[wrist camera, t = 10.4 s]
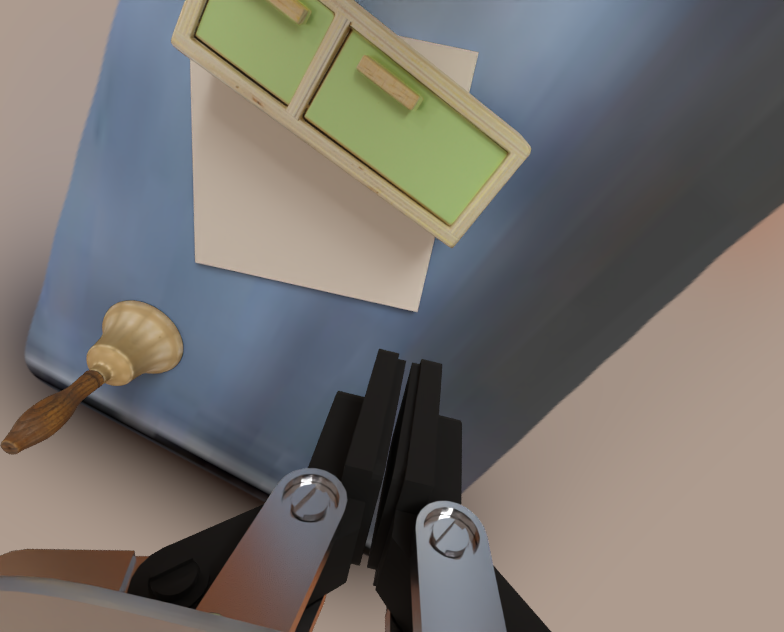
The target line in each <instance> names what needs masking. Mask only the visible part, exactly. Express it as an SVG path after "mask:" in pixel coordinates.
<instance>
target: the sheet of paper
mask: <svg viewBox="0 0 784 632" xmlns="http://www.w3.org/2000/svg"><path fill="white" fill-rule="evenodd" d="M399 37H400V38H401V39H403V40H404V41H405V42H406V43H408V44H409V45H410V46H411V47H413V48H414V49H415V50H416V51H418V52H419V53H420V54H421V55H423V56H424V57H425V58H426V59H428V60H429V61H430V62H431V63H433V64H434V65H435V66H436V67H437V68H439V69H440V70H441V71H442V72H444V73H445V74H446V75H447V76H449V77H450V78H451V79H452V80H454V81H455V82H456V83H457V84H459V85H460V86H461V87H462V88H464V89H465V90H466V91H467V92H469V91H470V87H471V83H472V78H473V74H474V70H475V66H476V62H477V57H478V53H479V52H475V51H470V50H465V49H460V48H455V47H451V46H446V45H441V44H436V43H431V42H426V41H421V40H417V39H412V38H407V37H402V36H399ZM190 73H191V112H192V152H193V192H194V231H195V262H196V263H201V264H205V265H210V266H214V267H219V268H223V269H227V270H232V271H236V272H241V273H245V274H250V275H254V276H259V277H263V278H268V279H272V280H277V281H281V282H285V283H290V284H294V285H299V286H303V287H308V288H312V289H317V290H321V291H326V292H330V293H335V294H339V295H343V296H348V297H352V298H357V299H361V300H366V301H370V302H375V303H379V304H384V305H388V306H393V307H397V308H401V309H406V310H410V311H415V312H417V311H418V307H419V302H420V298H421V294H422V290H423V286H424V281H425V277H426V273H427V269H428V264H429V260H430V256H431V252H432V248H433V243H434V239H435V237H434V236H433V235H432V234H430V233H429V232H428V231H426V230H425V229H423V228H422V227H421V226H419V225H418V224H417V223H415V222H414V221H412V220H411V219H410V218H408V217H407V216H405V215H404V214H403V213H401V212H400V211H399V210H397V209H396V208H394V207H393V206H392V205H390V204H389V203H387V202H386V201H385V200H383V199H382V198H380V197H379V196H378V195H376V194H375V193H374V192H372V191H371V190H370V189H368V188H367V187H365V186H364V185H363V184H361V183H360V182H358V181H357V180H356V179H354V178H353V177H352V176H350V175H349V174H347V173H346V172H345V171H343V170H342V169H341V168H339V167H338V166H336V165H335V164H334V163H332V162H331V161H330V160H328V159H327V158H325V157H324V156H323V155H321V154H320V153H319V152H317V151H316V150H315V149H313V148H312V147H311V146H309V145H308V144H306V143H305V142H304V141H302V140H301V139H299V138H298V137H297V136H295V135H294V134H293V133H291V132H290V131H289V130H287V129H286V128H285V127H283V126H282V125H281V124H279V123H278V122H276V121H275V120H273V119H272V118H271V117H269V116H268V115H267V114H265V113H264V112H262V111H261V110H260V109H258V108H257V107H255V106H254V105H253V104H251V103H250V102H249V101H247V100H246V99H244V98H243V97H242V96H240V95H239V94H238V93H236V92H235V91H233V90H232V89H231V88H229V87H228V86H227V85H225V84H224V83H222V82H221V81H220V80H218V79H217V78H215V77H214V76H213V75H211V74H210V73H209V72H207V71H206V70H205V69H203V68H202V67H200V66H199V65H198V64H196V63H195V62H194V61H192V60H191V59H190Z"/></svg>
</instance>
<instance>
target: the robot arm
mask: <svg viewBox="0 0 784 632" xmlns="http://www.w3.org/2000/svg"><path fill="white" fill-rule="evenodd" d="M398 357H399V353H395V352H391V351H386V350H382V349H379V351H378V354H377V357H376V361H375V364H374V367H373V371H372V374H371V378H370V381H369V384H368V388H367V391H366V395H365V397H362V396H358V395H353V394H349V393H345V392H341V391H338V392H337V394H336V396H335V398H334V401H333V404H332V406H331V409H330V412H329V414H328V417H327V419H326V422H325V425H324V427H323V430H322V432H321V435H320V438H319V440H318V443H317V446H316V448H315V451H314V453H313V456H312V459H311V461H310V464H309V466H308V468H304V469H300V470H296V471H293V472H291V473H290V474H288V475H286V476H285V477H284V478H283V479H282V480H281V481H280V482H279V483H278V484H277V486H276V487H275V489H274V490H273V492H272V493H271V495H270V496H269V498H268V500H267V501H266V503H265V504H263V505H261V506H259V507H256V508H254V509H252V510H249V511H247V512H245V513H242V514H240V515H238V516H236V517H233V518H231V519H229V520H226V521H224V522H222V523H219V524H217V525H215V526H213V527H210V528H208V529H206V530H203V531H201V532H199V533H196V534H195V535H192V536H189V537H187V538H185V539H183V540H180V541H178V542H176V543H173V544H171V545H169V546H166V547H164V548H162V549H161V550H159V551H157V552H155V553H154V554H152V555H150V556H135V551H130V550H69V549H23V550H15V551H11V552H8V553H5V554H3V555H0V632H312V631H313V628H314V626H315V624H316V621H317V619H318V617H319V614H320V612H321V609H322V607H323V605H324V602H325V599H326V595H327V594H328V593H329V592H331V591H333V590H334V589H336V588H338V587H339V586H341V585H342V584H344V583H346V581H347V576H348V573H349V569H350V565H351V564H355V565H360V562H361V559H362V555H363V551H364V547H365V544H366V540H367V536H368V532H369V529H370V525H371V521H372V518H373V514H374V510H375V506H376V503H377V499H378V495H379V491H380V488H381V484H382V480H383V476H384V471H385V467H386V471H385V476H384V481H383V486H382V492H381V497H380V502H379V507H378V512H377V518H376V523H375V528H374V533H373V538H372V544H371V549H370V554H369V559H368V565H367V567H368V568H371V569H375V570H376V572H375V578H374V583H373V585H374V586H376V591H377V593H378V594H379V596H380V597H381V599H382V600H383V602H384V603H385V605H386V606H387V607H386V614H385V632H551V631H550V630H549V629H548V627H547V626H546V625H545V624H544V623H543V622H542V621H541V619H540V618H539V617H538V616H537V615H536V614H535V613H534V611H533V610H532V609H531V608H530V607H529V606H528V605H527V603H526V602H525V601H524V600H523V599H522V598H521V597H520V595H518V593H517V592H516V591H515V590H514V589H513V587H512V586H511V585H510V584H509V583H508V582H507V580H506V579H505V578H504V577H503V576H502V575H501V574H500V573H499V571H498V570H497V569H496V568H495V567H494V566H493V562H492V557H491V552H490V548H489V543H488V538H487V535H486V532H485V529H484V526H483V525H482V523H481V522H480V520H479V519H478V517H477V516H476V515H474V514H473V513H472V512H471V511H470V510H469V509H467V508H465V507H464V506H462V505H461V476H462V422H461V421H460V420H456V419H452V418H448V417H444V416H440V415H439V405H440V391H441V377H442V364H440V363H436V362H432V361H428V360H424V359H422V360H421V362H420V364H417V363H412V366H411V369H410V373H409V377H408V381H407V384H406V388H405V392H404V396H403V399H402V403H401V407H400V411H399V414H398V418H397V422H396V426H395V430H394V433H393V437H392V441H391V436H392V431H393V426H394V421H395V415H396V410H397V405H398V400H399V395H400V390H401V384H402V379H403V374H404V369H405V364H406V361H404V360H400V359H398ZM390 441H391V445H390ZM389 446H390V450H389ZM388 452H389V455H388ZM387 457H388V460H387ZM386 462H387V466H386Z"/></svg>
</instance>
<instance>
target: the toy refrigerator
mask: <svg viewBox="0 0 784 632" xmlns="http://www.w3.org/2000/svg"><path fill="white" fill-rule="evenodd" d="M171 43H172V45H173V46H174V47H175V48H176V49H178V50H179V51H180V52H181V53H183V54H184V55H185V56H187V57H188V58H190V59H191V60H192V61H194V62H195V63H196V64H198V65H199V66H200V67H202V68H203V69H205V70H206V71H207V72H209V73H210V74H211V75H213V76H214V77H215V78H217V79H218V80H220V81H221V82H222V83H224V84H225V85H227V86H228V87H229V88H231V89H232V90H233V91H235V92H236V93H238V94H239V95H240V96H242V97H243V98H244V99H246V100H247V101H249V102H250V103H251V104H253V105H254V106H255V107H257V108H258V109H260V110H261V111H262V112H264V113H265V114H267V115H268V116H269V117H271V118H272V119H273V120H275V121H276V122H278V123H279V124H281V125H282V126H283V127H285V128H286V129H287V130H289V131H290V132H291V133H293V134H294V135H295V136H297V137H298V138H299V139H301V140H302V141H304V142H305V143H306V144H308V145H309V146H311V147H312V148H313V149H315V150H316V151H317V152H319V153H320V154H321V155H323V156H324V157H325V158H327V159H328V160H330V161H331V162H332V163H334V164H335V165H336V166H338V167H339V168H341V169H342V170H343V171H345V172H346V173H347V174H349V175H350V176H352V177H353V178H354V179H356V180H357V181H358V182H360V183H361V184H363V185H364V186H365V187H367V188H368V189H370V190H371V191H372V192H374V193H375V194H376V195H378V196H379V197H380V198H382V199H383V200H385V201H386V202H387V203H389V204H390V205H392V206H393V207H394V208H396V209H397V210H399V211H400V212H401V213H403V214H404V215H405V216H407V217H408V218H410V219H411V220H412V221H414V222H415V223H417V224H418V225H419V226H421V227H422V228H423V229H425V230H426V231H428V232H429V233H430V234H432V235H433V236H434V237H436V238H437V239H439V240H440V241H442V242H443V243H445V244H446V245H447V246H449V247H450V248H453V247H454V246H455V245H456V243H457V242H458V241H459V240H460V239H461V237H462V236H463V235H464V234H465V232H466V231H467V230H468V229H469V227H470V226H471V225H472V224H473V223H474V221H475V220H476V219H477V218H478V216H479V215H480V214H481V213H482V212H483V210H484V209H485V208H486V207H487V205H488V204H489V203H490V202H491V200H492V199H493V198H494V197H495V196H496V194H497V193H498V192H499V191H500V190H501V188H502V187H503V186H504V185H505V183H506V182H507V181H508V180H509V179H510V177H511V176H512V175H513V174H514V173H515V171H516V170H517V169H518V168H519V166H520V165H521V164H522V163H523V162H524V161H525V159H526V158H527V157H528V156H529V154H530V152H531V147H530V145H529V144H528V143H527V142H526V140H525V139H524V138H523V137H522V136H521V135H520V134H519V133H518V132H517V131H516V130H515V129H513V128H512V127H511V126H510V125H508V124H507V123H506V122H505V121H503V120H502V119H501V118H500V117H498V116H497V115H496V114H495V113H493V112H492V111H491V110H490V109H489V108H487V107H486V106H485V105H484V104H482V103H481V102H480V101H479V100H477V99H476V98H475V97H474V96H472V95H471V94H470V93H469V92H467V91H466V90H465V89H464V88H462V87H461V86H460V85H459V84H457V83H456V82H455V81H454V80H452V79H451V78H450V77H449V76H447V75H446V74H445V73H444V72H442V71H441V70H440V69H439V68H437V67H436V66H435V65H434V64H433V63H431V62H430V61H429V60H428V59H426V58H425V57H424V56H423V55H421V54H420V53H419V52H418V51H416V50H415V49H414V48H413V47H411V46H410V45H409V44H408V43H406V42H405V41H404V40H403V39H401V38H400V37H399V36H398V35H396V34H395V33H394V32H393V31H391V30H390V29H389V28H388V27H386V26H385V25H384V24H383V23H381V22H380V21H379V20H378V19H376V18H375V17H374V16H373V15H372V14H370V13H369V12H368V11H367V10H365V9H364V8H363V7H362V6H360V5H359V4H358V3H357V2H355V1H354V0H185V2H184V5H183V8H182V10H181V13H180V16H179V19H178V21H177V24H176V27H175V30H174V32H173V35H172V39H171Z"/></svg>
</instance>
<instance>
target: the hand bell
mask: <svg viewBox="0 0 784 632" xmlns="http://www.w3.org/2000/svg"><path fill="white" fill-rule="evenodd" d="M102 330H103V335H102V337H101V338H100V339H99V340H98V341H97V342H96V344H95V345H93V346H92V347H91V348H90V350H89V351H88V354H87V365H88V367H89V369H90V370H89V371H86V372H85V373H84V374H83V375H82V376H81V377H79V378H78V379H77V380H76V381H75V382H74V383H73V384H72V385H70V386H69V387H68V388H66V389H64V390H63V391H60V392H58V393H55V394H53V395H50V396H48V397H46V398H44V399H43V400H41V401H39V402H38V403H36V404H35V405H33V406H32V407H31V408H29V409H28V410H27V411H26V412H25V413H24V414H23V415H22V416H21V417H20V418H19V419H18V420H17V421H16V423H15V424H14V426H13V427H12V429H11V431H10V432H9V434H8V435H7V436H6V438H5V439H4V440H3V441H2V442H1V448H2V449H3V450H4V451H5V452H6V453H8V454H17V453H19V452H21V451H22V450H24V449H26V448H29V447H31V446H33V445H36V444H37V443H40V442H42V441H44V440H46V439H47V438H49V437H50V436H52V435H53V434H54V433H55V432H57V431H58V430H59V429H60V428H61V427H62V426H63V425H64V424H65V423H66V422H67V421H68V420H69V419H70V417H71V416H72V415H73V413H74V411H75V410H76V408H77V406H78V405H79V404H80V402H81V401H82V400H83V399H84V398H86V397H87V396H88V395H90V394H91V393H92V392H94V391H95V390H96V389H97V388H99V387H100V386H102V385H103V384H104V383H106V384H109V385H113V386H122V385H125V384H127V383H129V382H130V381H132V380H133V379H135V378H136V377H138V376H139V375H141V374H143V373H152V374H153V373H162V372H166V371H168V370H171V369H173V368H174V367H175V366H176V365H177V364H178V363H179V361H180V360H181V357H182V354H183V343H182V338H181V336H180V333H179V331H178V330H177V328H176V326H175V325H174V323H173V322H172V321H171V320H170V319H169V318H168V317H167V316H166V315H165V314H164V313H163V312H161V311H160V310H158V309H157V308H155V307H153V306H151V305H149V304H146V303H143V302H139V301H122V302H119V303H116V304H115V305H113V306H111V307H110V309H109V310H108V311H107V313H106V314H105V317H104V320H103V324H102Z"/></svg>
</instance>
